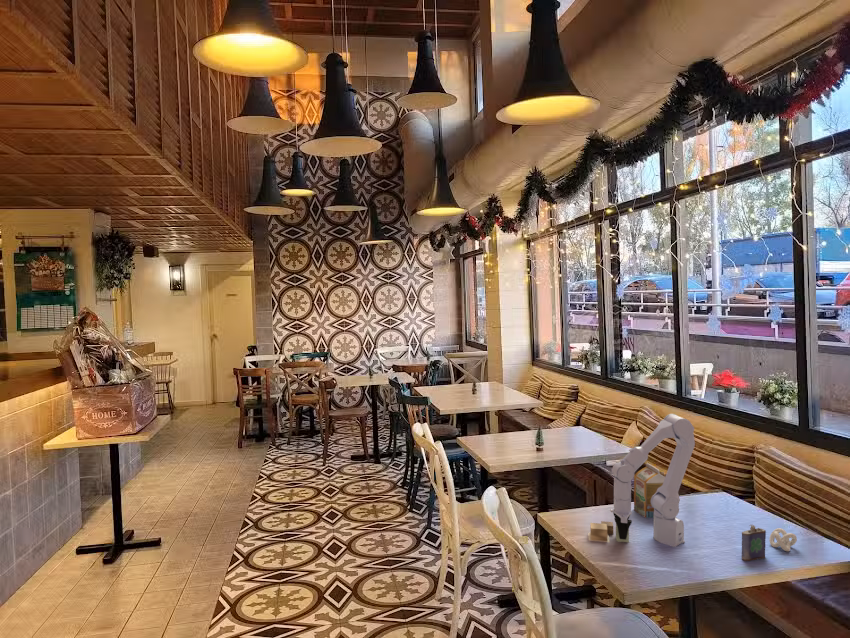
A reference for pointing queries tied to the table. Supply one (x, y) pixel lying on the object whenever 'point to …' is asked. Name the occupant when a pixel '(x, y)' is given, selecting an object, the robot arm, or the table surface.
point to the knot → (782, 539)
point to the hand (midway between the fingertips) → (622, 536)
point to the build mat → (598, 540)
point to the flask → (753, 544)
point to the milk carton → (646, 489)
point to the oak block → (598, 531)
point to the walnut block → (608, 527)
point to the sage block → (619, 538)
